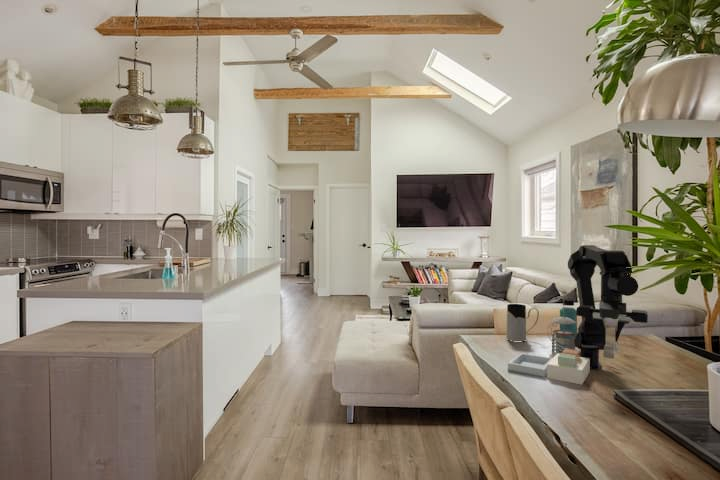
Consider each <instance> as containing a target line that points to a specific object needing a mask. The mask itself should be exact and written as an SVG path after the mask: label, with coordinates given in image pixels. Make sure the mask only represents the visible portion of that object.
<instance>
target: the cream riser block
mask: <svg viewBox="0 0 720 480" xmlns="http://www.w3.org/2000/svg"><path fill="white" fill-rule="evenodd" d="M559 355H560V354H559V353H557V354H556V355H555V356H554V357H553V359H552V360H551V361H550V362H549V363H548V364H547V374H546V378H547V379H551V380H556V381H561V382H565V383H572V384H576V385H581V386H583V384H584V383H585V380H586V379H587V377H588V376H589V374H590V369H591V368H590V358H585V357H580V358H579V360H578V361H576V364H575V365H574V367H571V366H565V365H559V364H558V356H559Z"/></svg>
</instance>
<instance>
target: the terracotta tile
mask: <svg viewBox="0 0 720 480" xmlns="http://www.w3.org/2000/svg"><path fill="white" fill-rule="evenodd" d="M563 349H564V350H563V351H562V354H569V355H575V356H576V361H578V360H579V358H580V349H575V350H572V349H567V348H563Z"/></svg>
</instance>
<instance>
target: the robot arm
mask: <svg viewBox="0 0 720 480" xmlns="http://www.w3.org/2000/svg"><path fill="white" fill-rule="evenodd" d="M596 267H599V270H600V272H599V275H600V302H599V305H598V307H599V308H596V303H595V296H594V291H593V284H592V278H593V276H594V273H595V272H596V269H595V268H596ZM626 267H632V264H631V263H630V260H629V258H628V255H626V253H625V251H623V250H606V249H603V248H601V247H598V246H596V245H589V244H586V245H585V244H584V245H581V246H579V248H578V249H577V250H576V251H575V252H573V253H572V254H571V255H570V257H569V258H568V260H567V268H568V270H569V272H570V276H571V277H572V278H573V279H574V280H575V282H576V288H577V294H578V301H579V305H578V307H577V308H576V309H575V310H576V315H577V317H581V322H580V324H579V326H578V327H577V329H578V331H577V335H576V337H575V339H574V343H575V346H576V347H575V348H577V350H579V351H580V357H585V358H590V369H594V370H599V369H600V368H601V366H602V363H600V350H601V351H604V346H605V344H606V326H607V323H606V319H611V320H617V325H616V342H617V341H619V338H620V335H621V333H622V330H623V329H624V326H625V325H626V324H627V325H629V324H630V323H631V320H632V321H633V322H635V323H641V324H642V323H644V324H646V323H648V321H649V313H648V311H647V310H644V309H642V310H641V309H632V311H627V303H626V302H623V296H627V297H629V296H633V295H635V294H636V293H637V292H638V289H639V283H638V280H636V278H634V277H633V276H632V274H633V267H632V268H626ZM629 273H630V274H629ZM631 273H632V274H631ZM627 274H628V275H627Z"/></svg>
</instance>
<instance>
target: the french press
mask: <svg viewBox="0 0 720 480" xmlns="http://www.w3.org/2000/svg"><path fill="white" fill-rule="evenodd" d="M560 294H561V295H567V291H566V290H561V292H560ZM562 308H563V307H562ZM551 322H552V323H550V324H549V325H548V327H547V329H549V328H550V334H551V338H550V336H549V335H550V334H549V333H547V336H548V339H549V340H550V341H551V354H550V355H549V356H548V357H549V358H553V357H554V356H555V355H556V354H557V353H559V354H561V353H562V351H563V350H564V349H572V350H576V347H575V343H574V339H575V337H574V336H572V335H574V332H572V331H566V330H564V325H573V324H575V323H576V322H575V321H574V320H572V319H570V318H567V317H564V308H563V317H560V316H558V317H554V318H553V319H552V320H551ZM558 324H559V325H560V324H563V330H559V329H554V330H553V331H552V328H553V327H558ZM552 332H553V333H552ZM564 337H569V338H571V339H563V338H564ZM566 344H567V346H563V345H566Z"/></svg>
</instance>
